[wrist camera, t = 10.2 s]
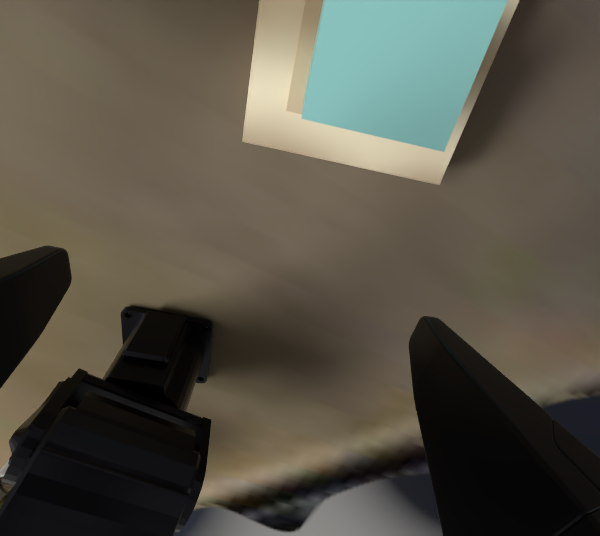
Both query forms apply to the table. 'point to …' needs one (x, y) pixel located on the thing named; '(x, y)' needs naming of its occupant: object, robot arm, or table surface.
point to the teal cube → (398, 65)
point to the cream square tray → (320, 137)
